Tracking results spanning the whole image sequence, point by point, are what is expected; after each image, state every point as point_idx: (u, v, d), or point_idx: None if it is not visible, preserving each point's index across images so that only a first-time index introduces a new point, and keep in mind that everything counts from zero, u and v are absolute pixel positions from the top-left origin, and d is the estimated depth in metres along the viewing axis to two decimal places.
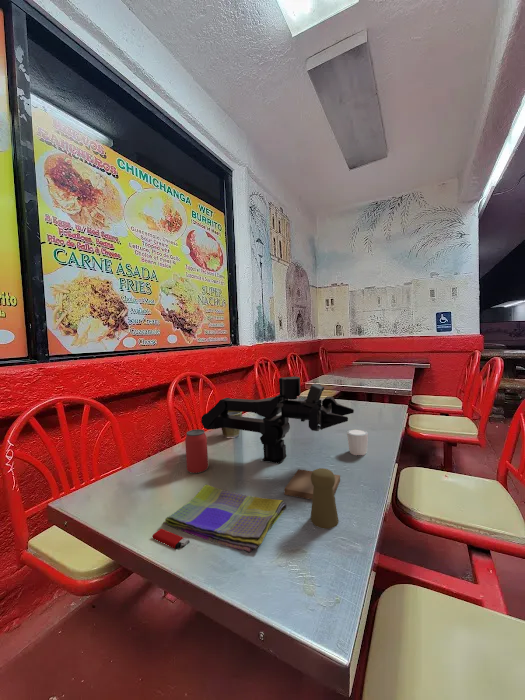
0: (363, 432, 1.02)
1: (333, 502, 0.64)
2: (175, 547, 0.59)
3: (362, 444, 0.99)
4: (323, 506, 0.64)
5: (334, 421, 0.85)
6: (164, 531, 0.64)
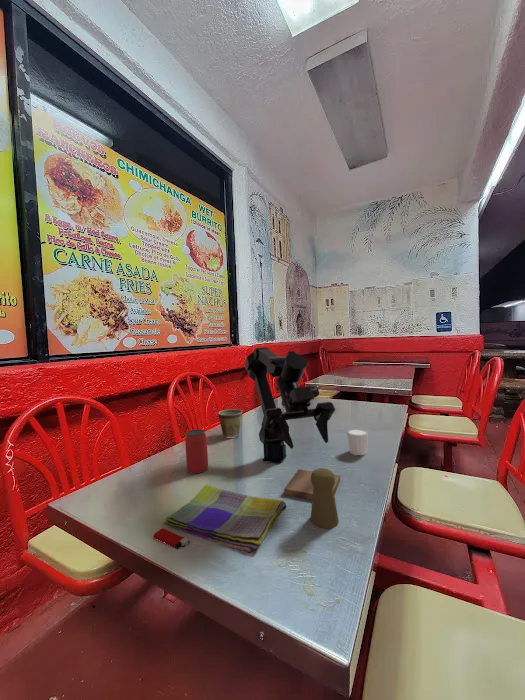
0: (363, 432, 1.02)
1: (333, 502, 0.64)
2: (176, 547, 0.59)
3: (362, 444, 0.99)
4: (323, 506, 0.64)
5: (282, 436, 0.74)
6: (165, 531, 0.64)
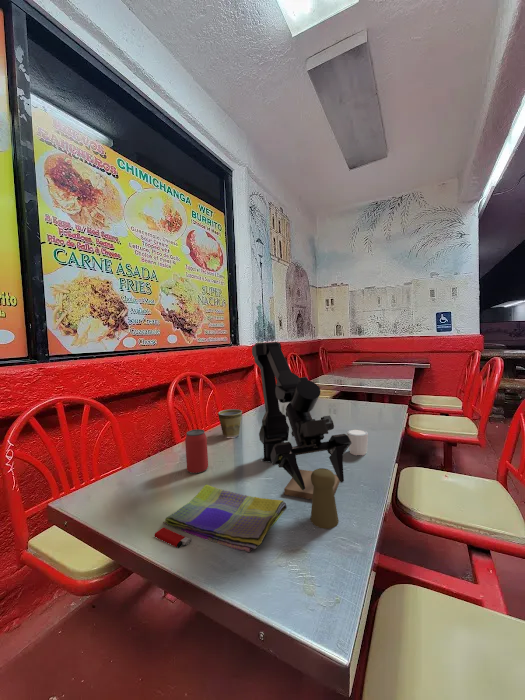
0: (363, 432, 1.02)
1: (333, 502, 0.64)
2: (177, 546, 0.60)
3: (362, 444, 0.99)
4: (323, 506, 0.64)
5: (293, 475, 0.67)
6: (166, 530, 0.64)
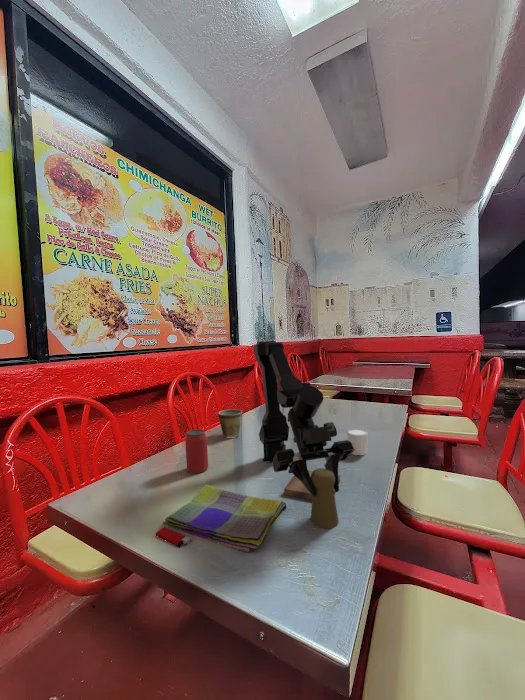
0: (363, 432, 1.02)
1: (333, 502, 0.64)
2: (177, 545, 0.60)
3: (362, 444, 0.99)
4: (323, 506, 0.64)
5: (303, 481, 0.66)
6: (167, 529, 0.64)
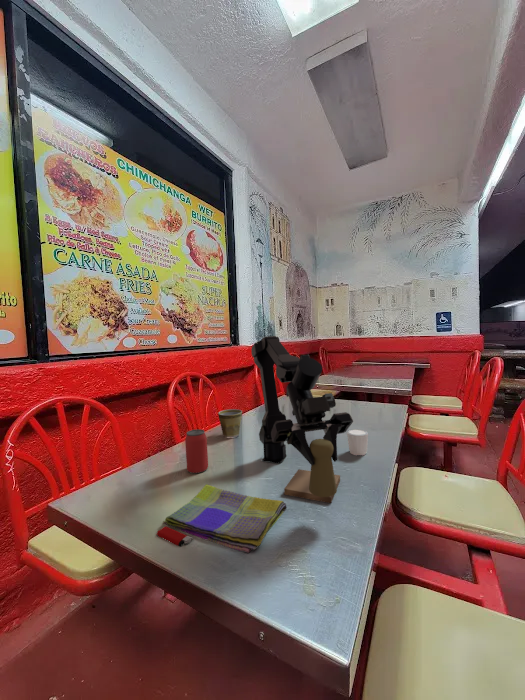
0: (363, 432, 1.02)
1: (331, 471, 0.65)
2: (178, 545, 0.60)
3: (362, 444, 0.99)
4: (322, 474, 0.64)
5: (302, 451, 0.66)
6: (168, 529, 0.65)
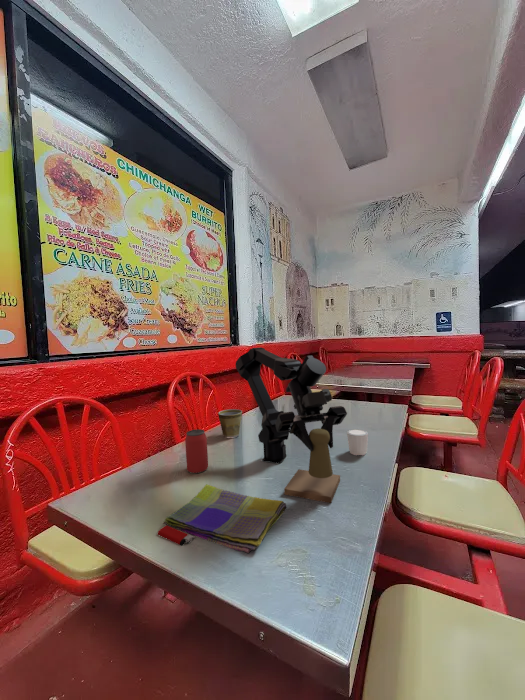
0: (363, 432, 1.02)
1: (328, 456, 0.75)
2: (180, 543, 0.60)
3: (362, 444, 0.99)
4: (319, 459, 0.74)
5: (302, 439, 0.76)
6: (169, 527, 0.65)
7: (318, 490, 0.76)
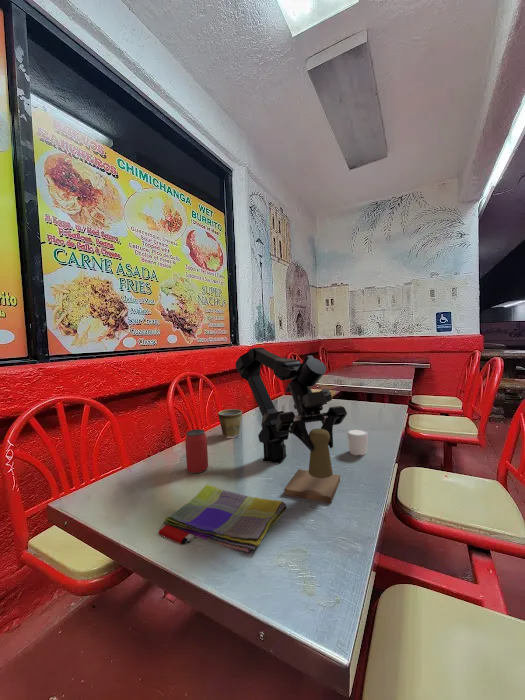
0: (363, 432, 1.02)
1: (328, 456, 0.75)
2: (181, 542, 0.61)
3: (362, 444, 0.99)
4: (319, 459, 0.74)
5: (302, 439, 0.76)
6: (170, 527, 0.65)
7: (318, 490, 0.76)
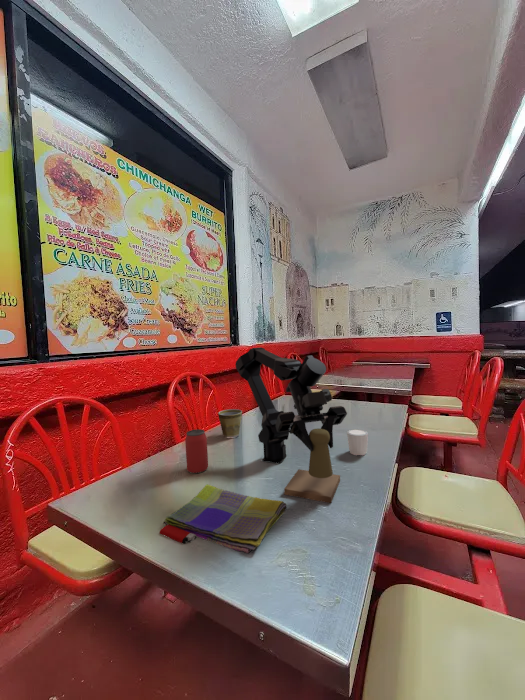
0: (363, 432, 1.02)
1: (328, 456, 0.75)
2: (182, 542, 0.61)
3: (362, 444, 0.99)
4: (319, 459, 0.74)
5: (302, 439, 0.76)
6: (171, 526, 0.65)
7: (318, 490, 0.76)
